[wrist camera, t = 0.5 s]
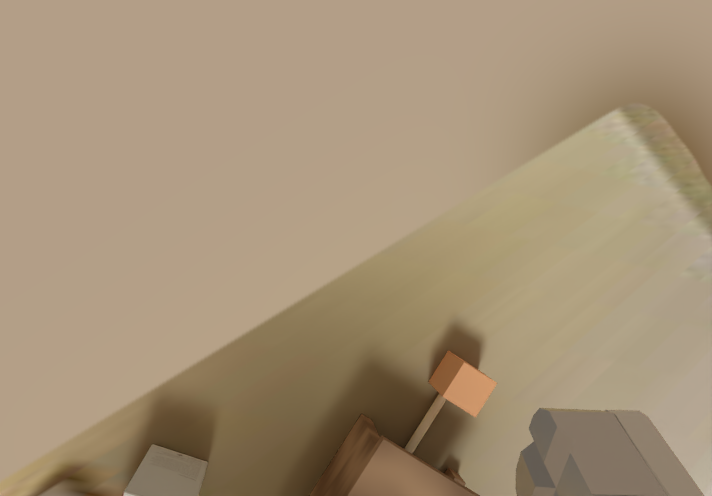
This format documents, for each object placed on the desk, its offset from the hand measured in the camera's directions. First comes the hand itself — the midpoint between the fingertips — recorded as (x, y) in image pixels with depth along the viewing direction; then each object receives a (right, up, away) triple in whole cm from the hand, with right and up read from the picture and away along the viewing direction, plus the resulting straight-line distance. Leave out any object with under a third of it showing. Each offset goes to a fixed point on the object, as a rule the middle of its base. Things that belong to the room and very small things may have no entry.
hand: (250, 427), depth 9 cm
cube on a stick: (+6, -17, +52) cm, 55 cm away
